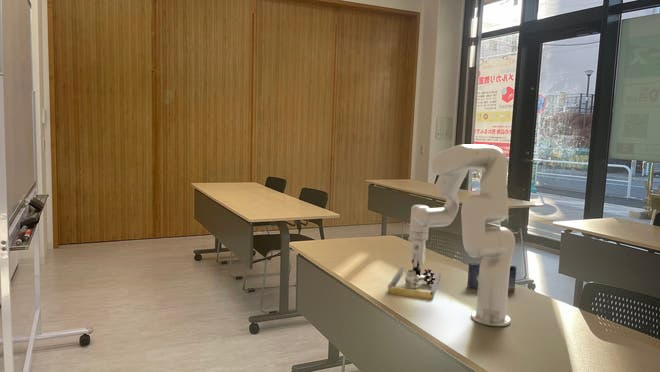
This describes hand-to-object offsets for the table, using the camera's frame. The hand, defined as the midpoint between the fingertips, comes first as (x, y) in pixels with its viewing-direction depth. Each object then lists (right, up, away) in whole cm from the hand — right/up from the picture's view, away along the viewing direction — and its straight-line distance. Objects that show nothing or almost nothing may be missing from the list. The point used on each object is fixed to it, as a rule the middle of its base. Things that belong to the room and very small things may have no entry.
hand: (415, 278), depth 204 cm
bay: (-1, -2, -4) cm, 5 cm away
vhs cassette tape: (+29, -4, -5) cm, 30 cm away
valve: (0, -2, -5) cm, 6 cm away
